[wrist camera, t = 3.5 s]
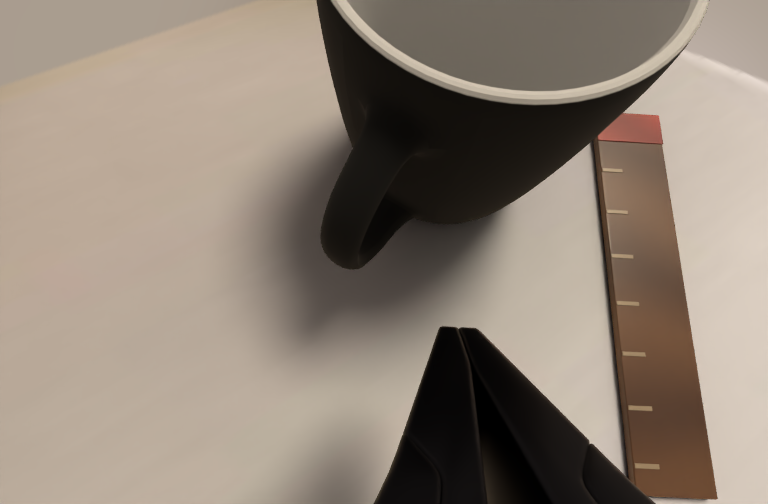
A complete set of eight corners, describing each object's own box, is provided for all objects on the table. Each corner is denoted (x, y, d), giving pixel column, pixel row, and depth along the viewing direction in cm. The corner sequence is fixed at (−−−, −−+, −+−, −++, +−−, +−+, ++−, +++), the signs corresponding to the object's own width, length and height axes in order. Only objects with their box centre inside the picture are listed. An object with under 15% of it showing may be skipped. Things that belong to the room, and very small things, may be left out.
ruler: (709, 496, 15) (719, 500, 15) (629, 493, 15) (637, 496, 15) (652, 121, 20) (658, 115, 19) (590, 117, 20) (595, 111, 19)
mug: (408, 45, 20) (443, -253, 11) (569, 135, 19) (774, -105, 9) (257, 235, 17) (114, 65, 8) (437, 355, 16) (538, 335, 6)
